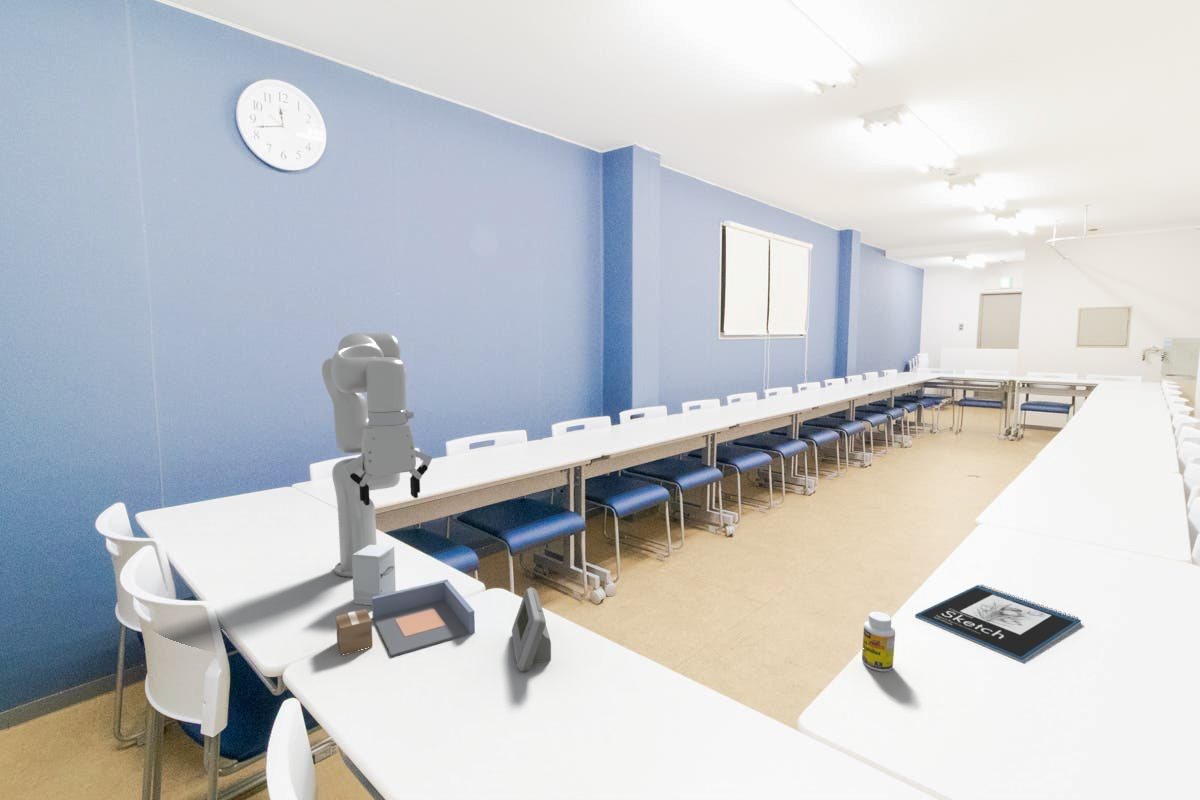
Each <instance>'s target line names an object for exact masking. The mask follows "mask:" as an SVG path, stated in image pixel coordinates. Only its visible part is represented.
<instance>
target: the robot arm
mask: <svg viewBox="0 0 1200 800" xmlns="http://www.w3.org/2000/svg"><path fill="white" fill-rule="evenodd" d="M337 347H338V348H337V351H336V352H335V353H334V354H333V356H332V357H329V358H327V359H325V360H324V362H322V367H321V373H322V374H321V376H322V379H323V382H324V385H325V388H326V390H327V392H328V394H329V397H330V399H331V401H332V405H333V415H334V416H333V417H334V433H335V440H336V441H335V442H336V445H337V449H338V451H340V452H341V453H344V454H356V453H359V454H360V453H361V454H360V455H359V456H357V457H351V458H345V459H342V460H340V461H338V462H336V463H335V464H334V466H332V467H333V468H332V471H331V473H332V476H331V477H332V481H333V486H334V491H335V496H336V504H337V517H338V519H337V520H338V535H339V537H338V539H339V554H340V555H339V556H340V557H339V559H340V562H338V563H337V564H335V566H334V573H335V574H336V575H337V574H338V576H341V577H345V576H346V578H348V577H349V578H351V577H352V578H353V572H352V555H353V554H354V553H356V552H358V551H359V550H361V549H363V548H364V547H366V546H368V545H378V543H377V528H376V527H377V524H376V523H377V522H376V506H375V504H374V502H373V500H372V499H371V498H370V492H371V491H376V490H384V489H391V488H393V487H396V486H397V485H399V483H400V479H401V474H402V473H408V472H409V474H411V477H409V479H410V480H409V482H410V483H409V484H410V486H409V487H410V496H412V497H413V498H414V499H418V497H419V493H421V482H420V479H422V476H423V475H424V474H425V473H426V472H427V470H428V469H429V466H430V464H431V462H432V459H433V458H432V456H431V455H428V454H426V453H424V452H421V451H419V450H416V448H415V442H414V435H413V431H412V427H411V424H410V423H408V422H409V420H411V419H414V417H415V414H414V411H409V410H408V409H407V389H406V388H407V386H406V385H407V384H406V380H407V371H406V367H405V363H404V362H403V360H401V346H400V343H399V340H398V339H397V337H396V336H394V335H393V334H391V333H387V332H386V333H383V332H382V333H381V332H380V333H379V332H378V333H377V332H373V333H372V332H368V333H367V332H355V333H350V334H347V335H345V336H343V338H341V340H340V341H339V342H338V346H337ZM363 393H366V397H365V396H364V395H363ZM417 458H418V459H419V460H422V463H421V464H420V465H419V466H418V468H417V469H416V466H417V465H416V464H417Z"/></svg>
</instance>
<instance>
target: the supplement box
mask: <svg viewBox="0 0 1200 800" xmlns="http://www.w3.org/2000/svg"><path fill="white" fill-rule="evenodd" d="M395 559H396V558H395V546H394V545H393V546H392V545H380V544H377V545H368V546H366V547H364V548H363V549H361V550H359V551H358V552H356V553H354V554H353V555H352V572H353V577H352V591H353V595H352V596H353V604H356V605H363V604H364V605H365V606H372V597H374V596H379V595H383V594H387V593H391V592H396V589H397V588H396V562H395Z"/></svg>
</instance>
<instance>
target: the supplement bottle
mask: <svg viewBox="0 0 1200 800" xmlns="http://www.w3.org/2000/svg"><path fill="white" fill-rule="evenodd" d="M895 639H896V630H895V627H894V626H893V625H892V617H891V616H889V615H888V614H887V613H885V612H882V611H881V612H880V611H871V612H870V613H869V614H868V620H867V621H865V622H864V624H863V635H862V650H861V651H862V653H861V659H862V663H863V664H864V665H865V666H866V667H868V668H870V669H871V670H874V671H878V672H888V671H890V670H892V669H893V666H894V654H895ZM863 648H864V649H863Z"/></svg>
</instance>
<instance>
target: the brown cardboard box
mask: <svg viewBox="0 0 1200 800" xmlns="http://www.w3.org/2000/svg"><path fill="white" fill-rule="evenodd" d="M335 626H336V628H335V629H336V644H337V646H339V647H338V650H339V649H340V650H339V652H341V653H340V656H341V655H343V654H347V653H351V652H354V653H356V652H355V651H358V650H361V649H365V648H368V647H372V646H373V626H372V619H371V617H370V615H369V613H368V610H367V609H366V608H364V609H360V610H354V611H350V612H347V613H343V614H341V615H340V614H339V615H336V616H335ZM372 648H373V647H372ZM368 649H369V648H368ZM365 650H366V649H365ZM361 651H362V650H361ZM358 652H359V651H358ZM351 654H352V653H351ZM347 655H348V654H347ZM343 656H344V655H343Z"/></svg>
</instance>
